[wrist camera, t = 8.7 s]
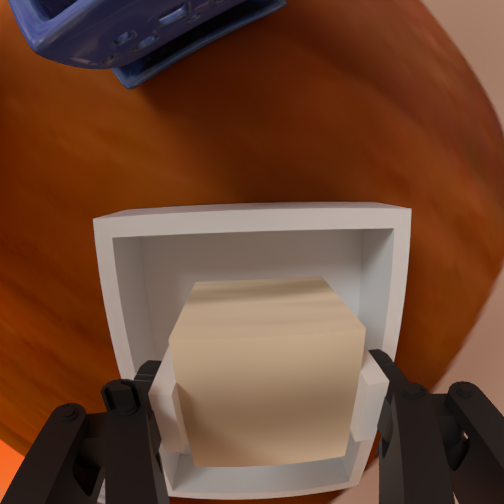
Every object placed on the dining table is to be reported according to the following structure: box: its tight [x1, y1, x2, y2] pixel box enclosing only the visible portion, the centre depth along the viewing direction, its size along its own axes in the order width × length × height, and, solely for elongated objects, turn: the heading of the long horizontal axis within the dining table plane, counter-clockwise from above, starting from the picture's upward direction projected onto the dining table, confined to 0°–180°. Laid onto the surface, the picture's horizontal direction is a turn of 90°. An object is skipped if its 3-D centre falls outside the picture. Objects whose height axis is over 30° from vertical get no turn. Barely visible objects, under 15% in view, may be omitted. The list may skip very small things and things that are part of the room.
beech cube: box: [168, 276, 366, 467], centre depth 13 cm, size 6×6×6 cm
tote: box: [93, 202, 411, 499], centre depth 19 cm, size 16×22×5 cm
